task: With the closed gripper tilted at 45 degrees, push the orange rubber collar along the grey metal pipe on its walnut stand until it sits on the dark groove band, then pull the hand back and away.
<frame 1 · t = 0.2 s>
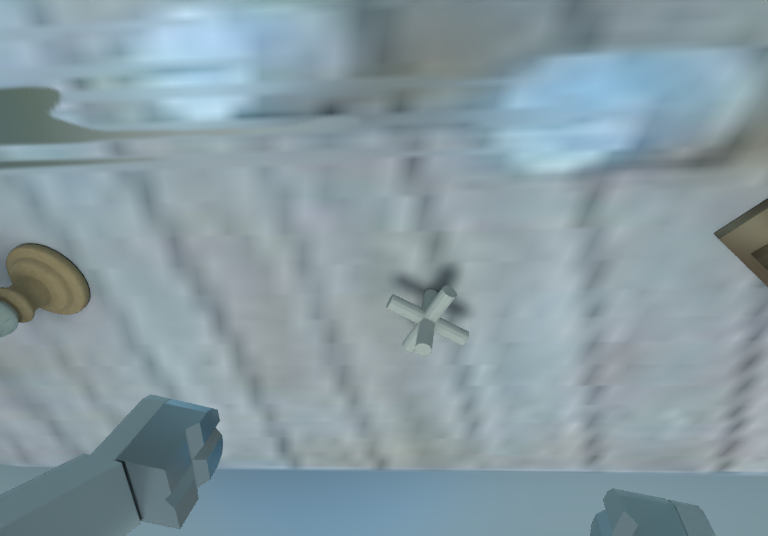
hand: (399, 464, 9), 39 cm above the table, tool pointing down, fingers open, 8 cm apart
pipe connector: (431, 293, 55), on the table
candle holder: (53, 277, 66), on the table
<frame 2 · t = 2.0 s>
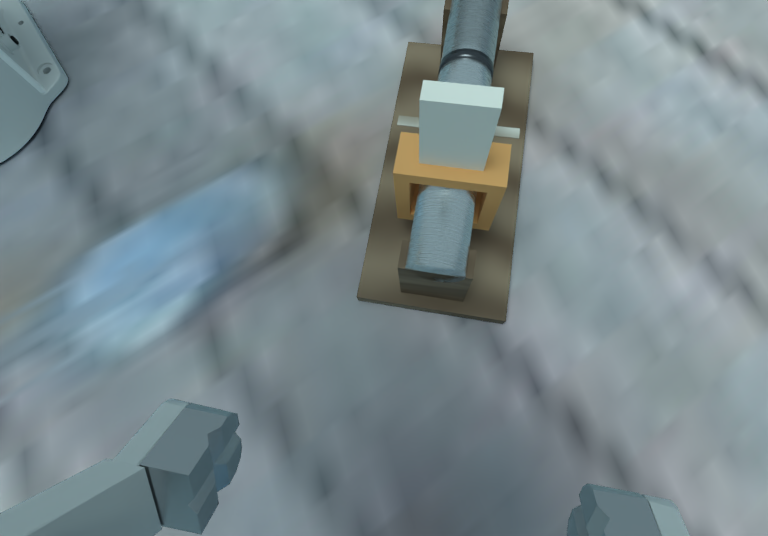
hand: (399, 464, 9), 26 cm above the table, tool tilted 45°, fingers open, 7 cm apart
pipe stand: (450, 172, 40), on the table
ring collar: (451, 162, 28), point 11 cm above the table, slide at -5.5 cm
pipe: (458, 118, 32), point 8 cm above the table
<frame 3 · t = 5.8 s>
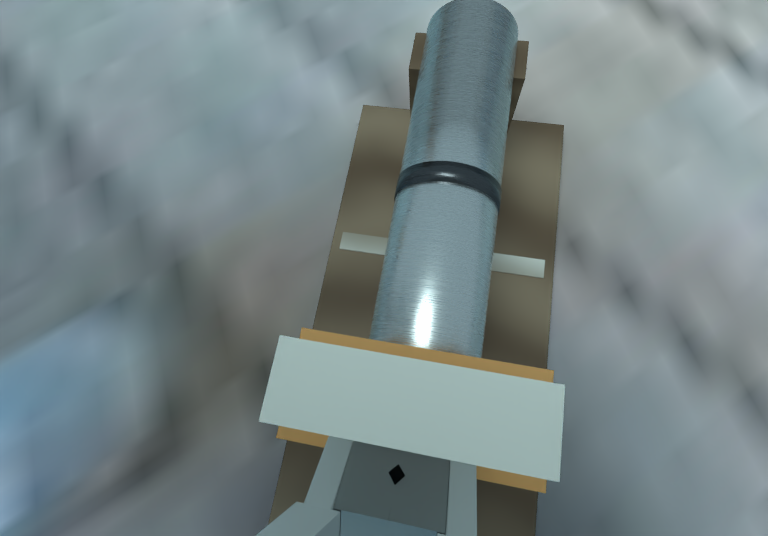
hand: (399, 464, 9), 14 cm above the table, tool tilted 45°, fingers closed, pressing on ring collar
pipe stand: (428, 330, 24), on the table
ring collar: (414, 404, 12), point 11 cm above the table, slide at -3.9 cm, touching gripper
pipe: (432, 295, 16), point 8 cm above the table
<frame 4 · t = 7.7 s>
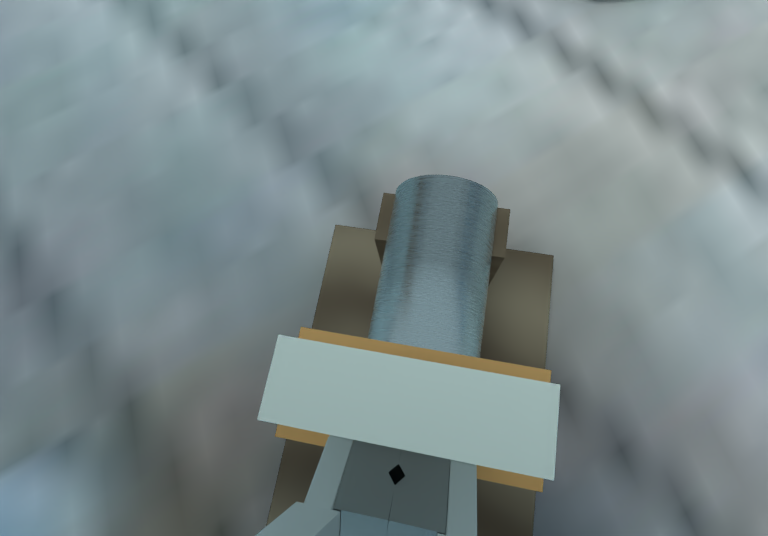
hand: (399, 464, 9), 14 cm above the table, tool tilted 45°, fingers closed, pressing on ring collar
pipe stand: (402, 492, 21), on the table
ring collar: (413, 403, 12), point 11 cm above the table, slide at 4.2 cm, touching gripper
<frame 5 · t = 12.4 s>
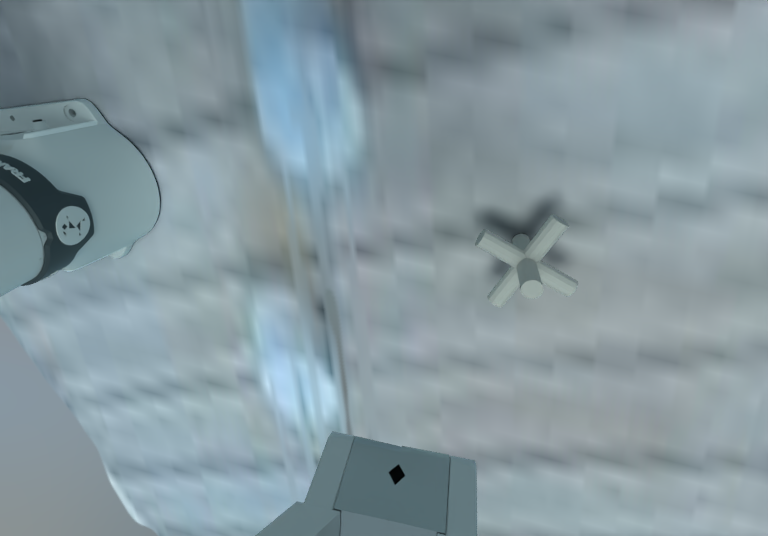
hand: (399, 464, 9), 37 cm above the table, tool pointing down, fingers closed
pipe connector: (520, 240, 45), on the table
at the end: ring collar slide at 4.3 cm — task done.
